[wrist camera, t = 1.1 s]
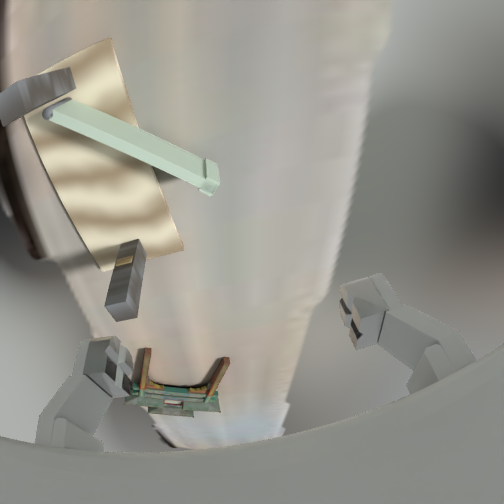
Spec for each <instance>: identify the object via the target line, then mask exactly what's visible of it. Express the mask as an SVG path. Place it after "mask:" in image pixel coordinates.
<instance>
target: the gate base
mask: <svg viewBox="0 0 504 504" xmlns="http://www.w3.org/2000/svg"><path fill="white" fill-rule="evenodd" d="M67 97H70V98H72V99H73V100H75V101H78V102H80V103H83V104H85V105H88V106H90V107H92V108H95V109H97V110H99V111H102V112H104V113H106V114H108V115H111V116H113V117H115V118H118V119H120V120H122V121H124V122H126V123H129V124H131V125H133V126H135V127H137V128H139V127H138V124H137V121H136V118H135V115H134V112H133V109H132V106H131V103H130V100H129V97H128V93H127V90H126V87H125V84H124V81H123V77H122V74H121V71H120V67H119V64H118V60H117V57H116V53H115V50H114V46H113V43H112V39H111V38H107V39H105V40H103V41H101V42H98V43H96V44H94V45H92V46H90V47H88V48H86V49H83V50H81V51H79V52H77V53H75V54H74V55H72V56H70V57H68V58H66V59H64V60H62V61H60V62H59V63H57V64H55V65H53V66H52V67H50V68H48V69H46V70H45V71H43V72H41V73H40V74H38V75H36V76H33V77H30V78H26V79H23V80H20V81H17V82H15V83H14V84H12V85H11V86H10V87H8V88H7V89H5V90H4V91H3V92H1V93H0V120H1V123H2V125H3V127H4V126H6V125H8V124H9V123H11V122H13V121H14V120H16V119H18V118H20V117H22V116H23V115H24V118H25V120H26V123H27V126H28V128H29V131H30V133H31V136H32V138H33V141H34V143H35V145H36V148H37V150H38V152H39V155H40V157H41V159H42V162H43V164H44V166H45V168H46V170H47V172H48V175H49V177H50V179H51V181H52V183H53V185H54V187H55V189H56V191H57V193H58V195H59V197H60V199H61V201H62V203H63V205H64V207H65V209H66V210H67V212H68V214H69V216H70V218H71V220H72V221H73V223H74V225H75V227H76V229H77V230H78V232H79V234H80V236H81V237H82V239H83V241H84V242H85V244H86V246H87V247H88V249H89V251H90V252H91V254H92V256H93V257H94V259H95V261H96V262H97V264H98V265H99V267H100V268H101V270H102V272H104V271H107V270H111V269H114V270H113V274H112V277H111V281H110V285H109V289H108V293H107V297H106V302H105V308H106V309H107V310H108V312H109V313H110V314H111V316H112V317H113V318H114V319H115V321H116V322H118V321H123V320H128V319H133V318H137V316H138V308H139V301H140V294H141V287H142V280H143V274H144V268H145V262H146V260H148V259H152V258H156V257H160V256H163V255H167V254H171V253H175V252H179V251H183V250H184V246H183V243H182V241H181V238H180V236H179V234H178V231H177V229H176V226H175V224H174V221H173V219H172V216H171V214H170V211H169V209H168V206H167V204H166V201H165V198H164V196H163V193H162V191H161V188H160V185H159V183H158V180H157V177H156V175H155V172H154V169H153V167H152V165H150V164H148V163H146V162H143V161H141V160H139V159H137V158H135V157H132V156H130V155H128V154H126V153H124V152H121V151H119V150H117V149H115V148H112V147H110V146H108V145H106V144H103V143H101V142H99V141H96V140H94V139H92V138H90V137H87V136H85V135H83V134H80V133H78V132H76V131H73V130H71V129H69V128H66V127H64V126H62V125H59V124H57V123H54V122H52V121H50V120H45V119H44V118H43V116H42V112H43V110H44V109H45V108H46V107H48V106H50V105H52V104H54V103H56V102H58V101H60V100H63V99H65V98H67Z"/></svg>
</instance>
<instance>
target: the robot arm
mask: <svg viewBox="0 0 504 504" xmlns="http://www.w3.org/2000/svg"><path fill="white" fill-rule="evenodd" d="M340 294H341V296H342V299H341V300H340V304H339V306H340V313H341V317H342V320H343V322H344V325H345V326H346V327H348V328H350V338H351V340H352V342H353V345H354V347H355V349H356V350H358V349H361V348H365V347H367V346H371V345H374V344H377V343H378V345H379V346H380V347H382V348H384V350H386V351H387V352H389V353H390V354H391V355H393V356H394V357H395V358H397V359H398V360H399V361H401V362H402V363H404V364H405V365H406V366H408V367H409V368H410V369H412V370H413V371H414V372H413V374H412V376H411V378H410V379H409V381H408V383H407V385H406V386H407V388H408V390H409V393H410V395H408V396H405V397H403V398H401V399H398V400H396V401H393V402H391V403H389V404H387V405H384V406H381V407H379V408H376V409H373V410H371V411H368V412H365V413H362V414H359V415H356V416H354V417H350V418H347V419H344V420H341V421H338V422H335V423H332V424H329V425H325V426H321V427H318V428H314V429H310V430H307V431H303V432H299V433H295V434H291V435H286V436H282V437H277V438H273V439H268V440H263V441H257V442H252V443H246V444H240V445H233V446H226V447H219V448H210V449H201V450H190V451H177V452H156V453H155V452H153V453H152V452H151V453H123V452H122V453H121V452H103V448H104V447H103V446H104V443H103V442H102V440H100V439H98V438H96V437H94V436H93V435H94V433H95V431H96V429H97V427H98V425H99V423H100V421H101V420H102V418H103V416H104V414H105V412H106V410H107V409H108V407H109V405H110V403H111V401H112V400H113V399H112V398H116V397H126V396H131V386H132V380H131V379H130V377H129V375H130V374H131V373H132V371H133V360H132V356H131V354H130V352H129V350H128V349H127V348H126V347H123V346H121V345H120V342H121V341H120V340H119V339H118V337H117V336H109V337H101V338H93V339H87V340H82V341H81V342H80V344H79V347H78V351H77V355H76V360H75V364H74V368H73V373H72V376H69V377H68V378H67V379H66V381H65V382H64V383H63V385H62V386H61V387H60V388H59V390H58V391H57V392H56V394H55V395H54V396H53V398H52V399H51V400H50V402H49V403H48V405H47V406H46V407H45V409H44V410H43V411H42V413H41V414H40V415H39V421H38V426H37V432H36V439H35V444H34V443H28V442H24V441H18V440H14V439H10V438H6V437H1V436H0V504H504V343H503V344H502V345H500V346H498V347H497V348H495V349H494V350H492V351H491V352H489V353H487V354H486V355H484V356H483V357H481V358H479V359H478V360H476V358H475V356H474V355H473V353H472V352H471V350H470V348H469V347H468V345H467V343H466V342H465V340H464V338H463V337H462V335H461V334H460V332H459V331H457V330H455V329H453V328H451V327H449V326H448V325H446V324H444V323H442V322H440V321H438V320H436V319H434V318H432V317H430V316H428V315H427V314H425V313H422V312H421V311H419V310H417V309H415V308H413V307H411V306H409V305H407V304H406V305H403V304H402V303H401V301H400V300H399V298H398V297H397V295H396V293H395V292H394V290H393V289H392V287H391V286H390V284H389V283H388V281H387V280H386V278H385V277H384V275H383V274H381V273H379V274H376V275H372V276H369V277H365V278H362V279H358V280H355V281H352V282H348V283H345V284H341V287H340Z"/></svg>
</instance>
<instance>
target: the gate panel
mask: <svg viewBox="0 0 504 504" xmlns="http://www.w3.org/2000/svg"><path fill="white" fill-rule="evenodd" d="M42 116H43V118H44V119H45V120H50V121H52V122H54V123H57V124H59V125H62V126H64V127H66V128H69V129H71V130H73V131H76V132H78V133H80V134H83V135H85V136H87V137H90V138H92V139H94V140H96V141H99V142H101V143H103V144H106V145H108V146H110V147H112V148H115V149H117V150H119V151H121V152H124V153H126V154H128V155H130V156H132V157H135V158H137V159H139V160H141V161H143V162H146V163H148V164H150V165H152V166H154V167H156V168H158V169H161V170H163V171H165V172H167V173H169V174H171V175H173V176H176V177H178V178H180V179H182V180H184V181H186V182H188V183H190V184H192V185H194V186H197V187H199V191H201V192H203V193H205V194H207V195H209V196H211V197H212V195H213V194H214V192H215V191H216V189H217V188H218V186H219V185H220V179H219V172H218V166H217V164H216V163H214V162H213V161H211V160H209V159H207V158H206V159H205V160H204V159H202V158H200V157H198V156H196V155H194V154H192V153H190V152H188V151H186V150H184V149H182V148H180V147H177V146H175V145H173V144H171V143H169V142H167V141H165V140H163V139H161V138H159V137H157V136H155V135H152V134H150V133H148V132H146V131H144V130H142V129H140V128H137V127H135V126H133V125H131V124H129V123H126V122H124V121H122V120H120V119H118V118H115V117H113V116H111V115H108V114H106V113H104V112H102V111H99V110H97V109H95V108H92V107H90V106H88V105H85V104H83V103H80V102H78V101H75V100H73V99H72V98H70V97H67V98H65V99H63V100H60V101H58V102H56V103H54V104H52V105H50V106H48V107H46V108H45V109H44V110H43V112H42Z"/></svg>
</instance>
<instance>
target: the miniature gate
mask: <svg viewBox="0 0 504 504" xmlns="http://www.w3.org/2000/svg"><path fill="white" fill-rule="evenodd" d="M150 358H151V348H145V352H144V358H143V365H142V372H141V380H140V384H139V383H133V389H131V396H126V397H125V403H124V404H132V405H140V406H148V413H153V414H163V415H174V416H188V417H193V418H194V415H193V411H210V412H219V413H220V412H221V411H220V407H219V400H218V391H215V390H216V388H217V387H218V385H219V383H220V381H221V379H222V377H223V376H224V374H225V372H226V370H227V368H228V366H229V364H230V360H229V357H223V359H222V360H221V362H220V364H219V366H218V367H217V369H216V371H215V373H214V375H213V377H212V379H211V381H210V382H209V383H208V385H207V386H204V387H201V388H196V389H192V388H190V389H185V388H175V387H165V386H164V385H162V386H160V385H157V384H155V383H153V382H152V381H151V380H149V376H147V375H148V369H149V363H150Z"/></svg>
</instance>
